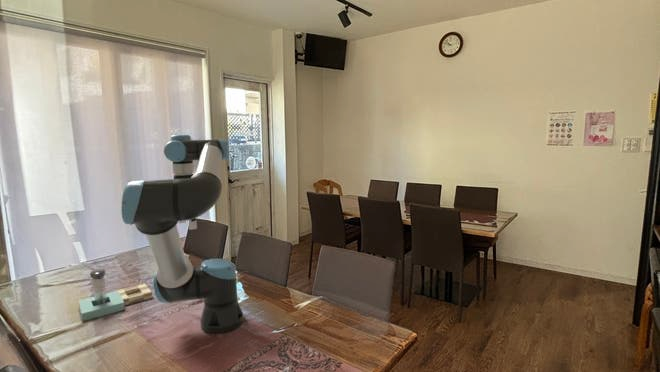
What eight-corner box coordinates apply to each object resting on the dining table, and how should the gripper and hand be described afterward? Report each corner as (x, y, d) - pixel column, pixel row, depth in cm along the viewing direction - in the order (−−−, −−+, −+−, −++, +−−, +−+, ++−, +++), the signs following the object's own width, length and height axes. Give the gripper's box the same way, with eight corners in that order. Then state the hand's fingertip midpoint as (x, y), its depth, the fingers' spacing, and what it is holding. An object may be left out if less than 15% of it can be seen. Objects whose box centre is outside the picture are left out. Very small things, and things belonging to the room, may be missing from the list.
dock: (124, 309, 143) (124, 302, 143) (82, 321, 135) (81, 313, 134) (118, 297, 154) (118, 290, 154) (79, 307, 145) (78, 300, 145)
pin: (110, 308, 144) (105, 272, 142) (95, 312, 141) (90, 276, 139) (108, 304, 148) (104, 269, 145) (93, 308, 145) (89, 272, 142)
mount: (152, 297, 153) (151, 292, 153) (120, 306, 146) (119, 300, 145) (145, 288, 162) (145, 283, 162) (115, 296, 155) (114, 290, 155)
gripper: (204, 175, 136) (208, 230, 139) (183, 171, 155) (187, 218, 158) (183, 177, 131) (188, 233, 135) (165, 172, 151) (169, 221, 154)
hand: (187, 225), depth 146 cm, fingers open, 13 cm apart
